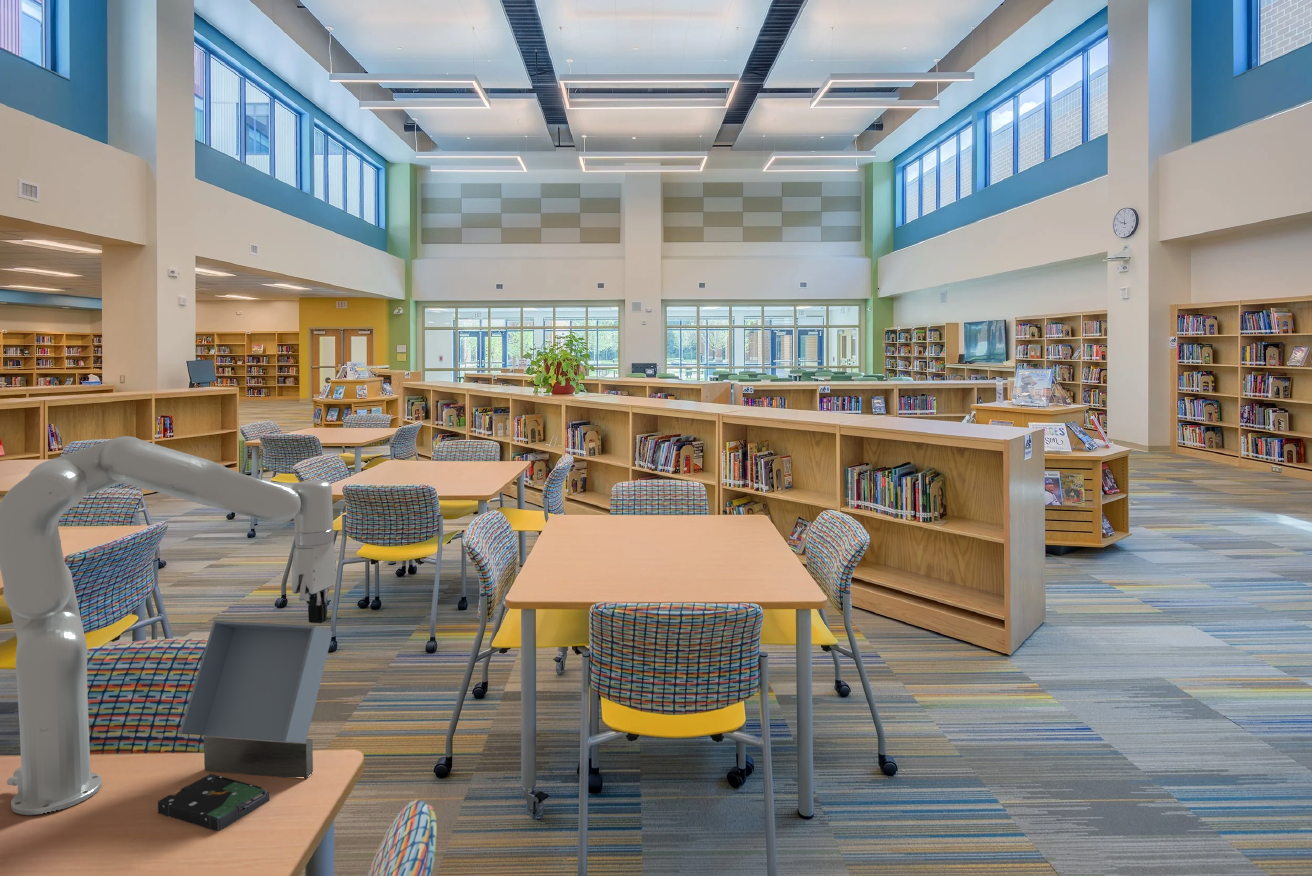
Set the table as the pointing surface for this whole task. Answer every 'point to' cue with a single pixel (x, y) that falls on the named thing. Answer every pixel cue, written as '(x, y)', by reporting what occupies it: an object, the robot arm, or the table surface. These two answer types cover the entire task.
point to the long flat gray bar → (258, 756)
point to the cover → (258, 681)
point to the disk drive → (213, 802)
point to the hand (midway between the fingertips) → (317, 621)
